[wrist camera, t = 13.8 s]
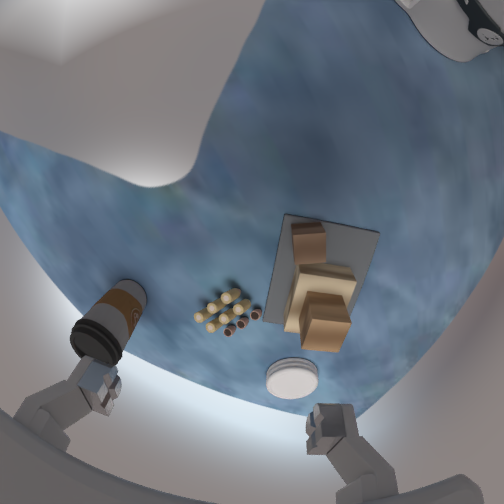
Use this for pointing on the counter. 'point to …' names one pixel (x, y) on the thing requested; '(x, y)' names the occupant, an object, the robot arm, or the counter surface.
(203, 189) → the counter surface
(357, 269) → the mat
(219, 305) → the ammunition
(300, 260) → the block
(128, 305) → the coffee cup
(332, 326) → the oak block
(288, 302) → the base block
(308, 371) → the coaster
